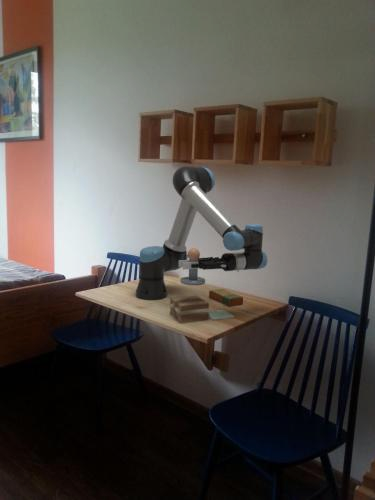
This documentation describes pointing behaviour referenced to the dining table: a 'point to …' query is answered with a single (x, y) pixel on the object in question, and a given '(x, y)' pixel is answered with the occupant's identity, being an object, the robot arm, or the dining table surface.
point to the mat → (219, 315)
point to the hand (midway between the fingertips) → (181, 264)
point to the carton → (225, 297)
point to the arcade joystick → (193, 270)
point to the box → (189, 309)
